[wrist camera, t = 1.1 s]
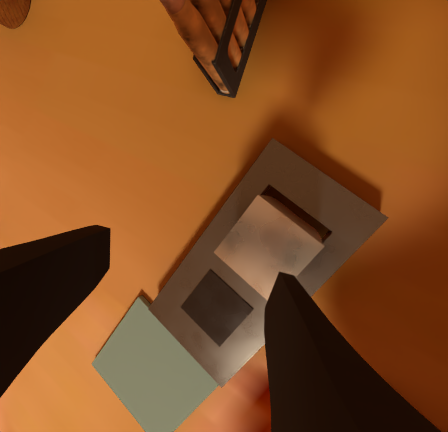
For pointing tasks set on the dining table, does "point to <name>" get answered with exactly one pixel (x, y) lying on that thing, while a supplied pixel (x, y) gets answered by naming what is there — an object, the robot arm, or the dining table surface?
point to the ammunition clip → (218, 36)
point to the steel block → (269, 244)
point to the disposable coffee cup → (13, 12)
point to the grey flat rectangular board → (235, 285)
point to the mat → (152, 371)
